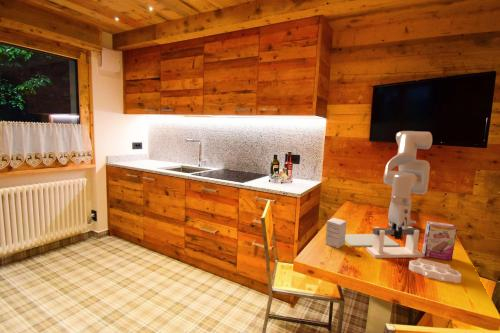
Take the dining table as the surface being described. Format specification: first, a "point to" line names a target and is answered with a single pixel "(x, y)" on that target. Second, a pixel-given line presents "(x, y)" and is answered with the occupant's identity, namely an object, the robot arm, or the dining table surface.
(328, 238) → the supplement box
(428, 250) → the candy bar box
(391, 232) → the rail
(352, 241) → the mat
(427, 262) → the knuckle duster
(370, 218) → the dining table surface
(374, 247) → the hook rack
